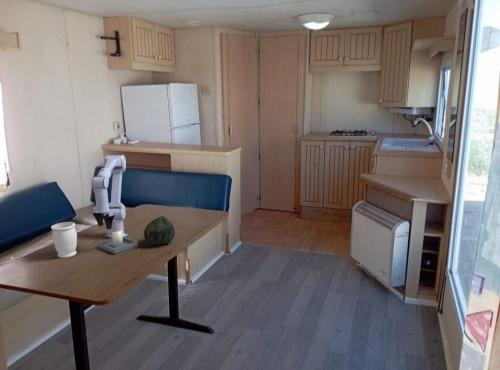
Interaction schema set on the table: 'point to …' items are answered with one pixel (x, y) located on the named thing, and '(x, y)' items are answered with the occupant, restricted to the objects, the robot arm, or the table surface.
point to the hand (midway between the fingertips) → (105, 227)
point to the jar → (64, 239)
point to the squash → (159, 231)
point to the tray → (126, 246)
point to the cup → (117, 238)
